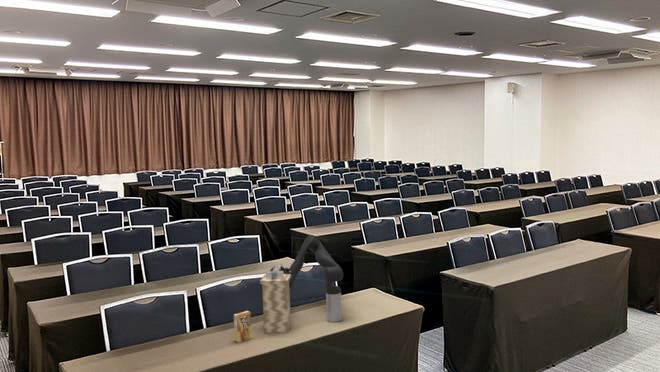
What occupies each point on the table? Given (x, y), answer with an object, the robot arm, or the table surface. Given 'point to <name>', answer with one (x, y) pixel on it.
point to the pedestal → (276, 304)
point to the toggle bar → (275, 273)
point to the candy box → (242, 326)
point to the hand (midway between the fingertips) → (278, 267)
